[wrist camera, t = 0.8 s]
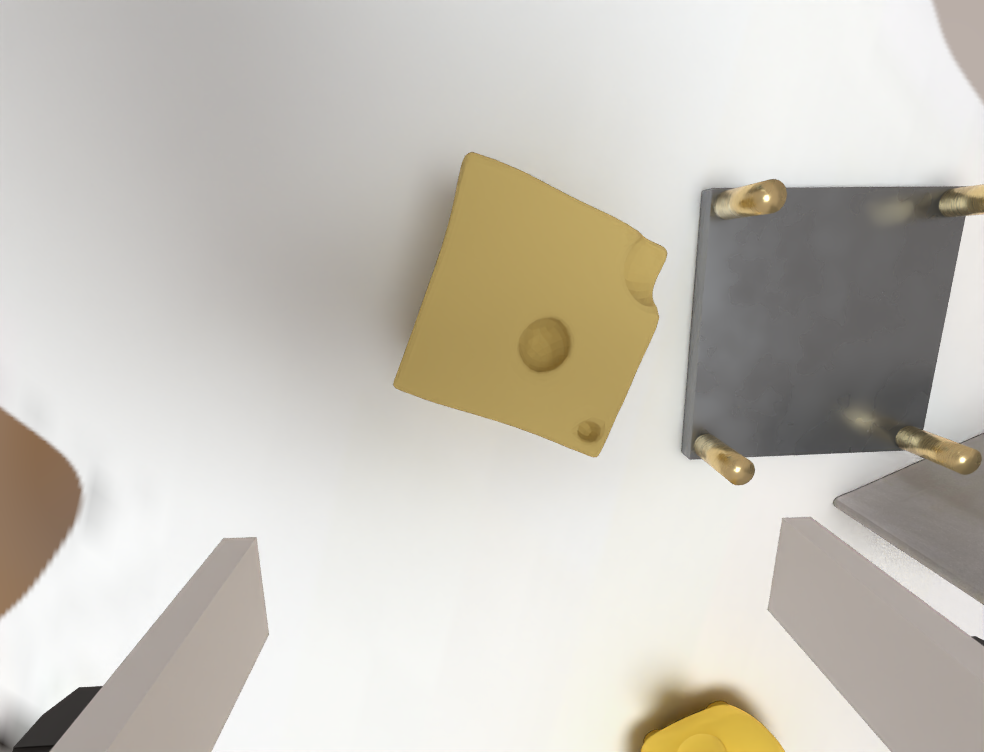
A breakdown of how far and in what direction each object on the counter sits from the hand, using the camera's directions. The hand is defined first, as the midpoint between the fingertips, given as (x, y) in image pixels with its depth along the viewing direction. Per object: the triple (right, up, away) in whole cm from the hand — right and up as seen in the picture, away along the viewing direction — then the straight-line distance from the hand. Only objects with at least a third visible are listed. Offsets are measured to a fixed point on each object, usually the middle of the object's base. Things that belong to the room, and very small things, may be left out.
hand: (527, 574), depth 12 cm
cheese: (0, +10, +18) cm, 20 cm away
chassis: (+19, +8, +19) cm, 28 cm away
